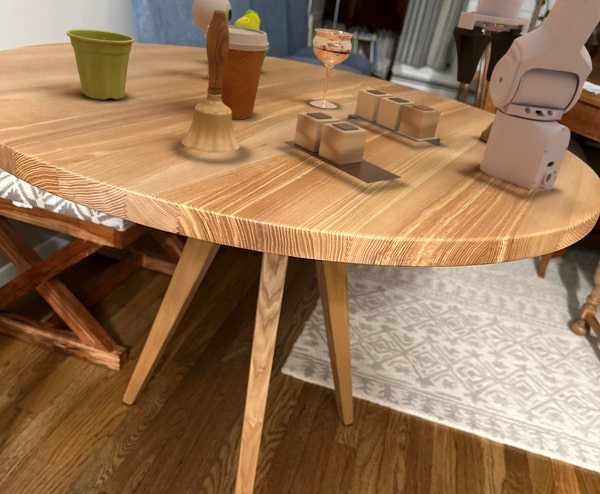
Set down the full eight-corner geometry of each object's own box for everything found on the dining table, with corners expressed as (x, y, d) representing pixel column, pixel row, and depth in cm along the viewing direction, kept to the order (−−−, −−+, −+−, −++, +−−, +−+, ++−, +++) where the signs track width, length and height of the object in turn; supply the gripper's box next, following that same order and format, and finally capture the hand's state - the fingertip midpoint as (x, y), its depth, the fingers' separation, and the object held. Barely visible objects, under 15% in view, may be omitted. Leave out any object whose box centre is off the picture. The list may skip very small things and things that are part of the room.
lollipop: (221, 84, 105) (226, -6, 97) (184, 78, 106) (186, -13, 98) (232, 78, 111) (238, -8, 103) (198, 72, 112) (200, -14, 104)
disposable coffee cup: (273, 121, 88) (281, 37, 81) (216, 122, 83) (221, 33, 76) (244, 105, 94) (250, 26, 88) (191, 105, 89) (193, 22, 83)
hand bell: (248, 146, 75) (259, 13, 67) (237, 166, 68) (248, 19, 60) (186, 137, 75) (190, 2, 67) (169, 155, 68) (170, 7, 60)
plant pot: (87, 85, 92) (83, 26, 87) (144, 94, 91) (143, 36, 87) (59, 97, 84) (54, 33, 79) (122, 107, 83) (120, 43, 79)
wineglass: (303, 98, 105) (313, 27, 98) (339, 102, 105) (351, 32, 99) (305, 106, 99) (315, 31, 93) (343, 111, 100) (356, 37, 93)
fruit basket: (205, 63, 122) (208, 4, 116) (235, 61, 128) (239, 6, 122) (243, 75, 116) (248, 13, 110) (272, 72, 122) (278, 15, 116)
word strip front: (400, 184, 70) (409, 143, 67) (365, 191, 66) (374, 148, 64) (316, 145, 80) (321, 108, 77) (282, 148, 76) (287, 110, 73)
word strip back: (439, 144, 89) (448, 111, 86) (414, 148, 85) (423, 113, 82) (372, 118, 98) (378, 87, 95) (347, 120, 94) (352, 88, 92)
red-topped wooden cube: (434, 137, 88) (441, 110, 86) (417, 139, 86) (424, 111, 83) (415, 129, 90) (421, 103, 88) (398, 131, 88) (404, 104, 86)
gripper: (510, -19, 86) (484, 75, 93) (452, -28, 78) (428, 76, 85) (552, -12, 82) (521, 86, 89) (495, -21, 73) (466, 88, 80)
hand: (478, 82), depth 86 cm, fingers open, 7 cm apart
